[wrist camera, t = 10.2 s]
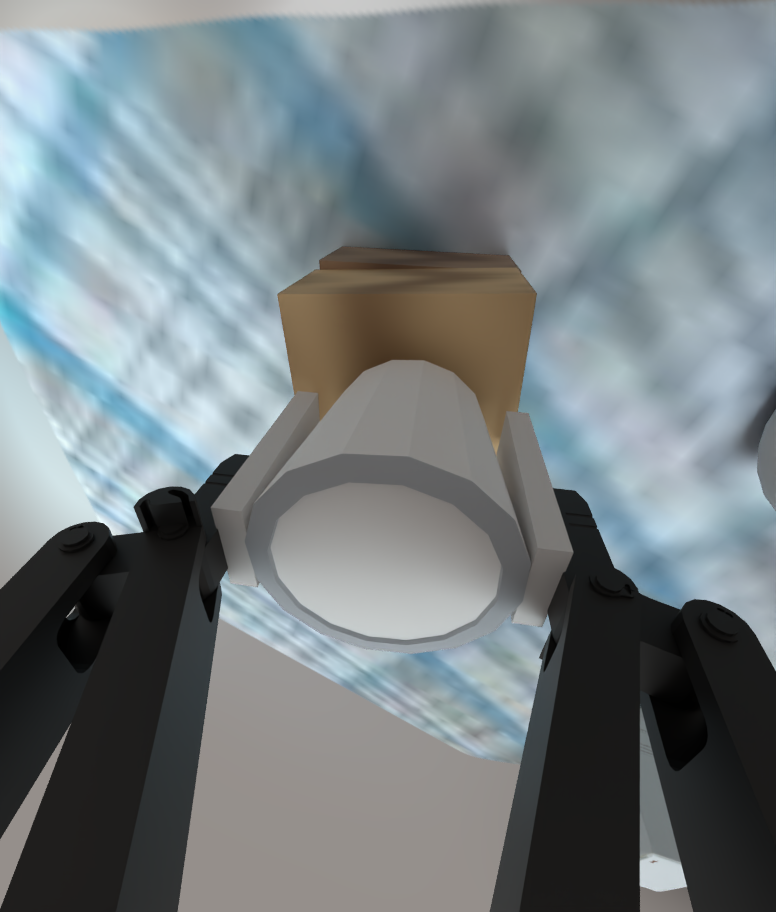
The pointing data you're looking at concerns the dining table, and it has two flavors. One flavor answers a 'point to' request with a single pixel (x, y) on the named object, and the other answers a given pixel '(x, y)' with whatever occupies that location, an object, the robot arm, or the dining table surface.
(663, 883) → the supplement box
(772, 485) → the donut
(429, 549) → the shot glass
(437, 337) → the oak block
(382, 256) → the walnut block
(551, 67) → the dining table surface
